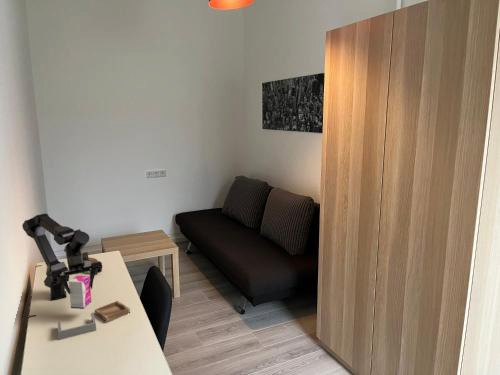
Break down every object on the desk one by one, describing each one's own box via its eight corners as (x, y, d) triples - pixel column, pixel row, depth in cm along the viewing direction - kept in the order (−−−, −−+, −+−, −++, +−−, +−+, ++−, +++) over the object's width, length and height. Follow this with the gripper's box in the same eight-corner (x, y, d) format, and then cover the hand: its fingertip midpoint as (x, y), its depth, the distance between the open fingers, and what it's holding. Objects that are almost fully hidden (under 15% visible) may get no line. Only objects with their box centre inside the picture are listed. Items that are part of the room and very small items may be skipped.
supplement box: (84, 309, 146) (81, 281, 144) (70, 308, 146) (67, 281, 144) (92, 302, 151) (89, 275, 149) (78, 301, 152) (76, 275, 150)
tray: (95, 314, 152) (94, 309, 152) (117, 305, 159) (117, 300, 159) (106, 322, 145) (106, 318, 145) (130, 312, 153) (129, 308, 152)
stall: (58, 328, 142) (57, 320, 142) (94, 319, 148) (93, 312, 147) (59, 339, 135) (58, 332, 134) (96, 330, 140) (95, 323, 140)
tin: (101, 273, 193) (100, 258, 191) (97, 276, 190) (96, 260, 188) (78, 270, 197) (77, 255, 196) (74, 272, 195) (72, 257, 193)
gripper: (48, 251, 143) (53, 288, 136) (99, 242, 153) (107, 277, 146) (48, 264, 151) (54, 300, 144) (97, 254, 161) (104, 288, 154)
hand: (80, 291), depth 147 cm, fingers closed on supplement box, 8 cm apart
